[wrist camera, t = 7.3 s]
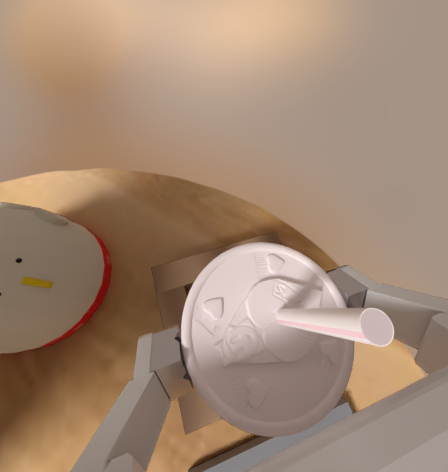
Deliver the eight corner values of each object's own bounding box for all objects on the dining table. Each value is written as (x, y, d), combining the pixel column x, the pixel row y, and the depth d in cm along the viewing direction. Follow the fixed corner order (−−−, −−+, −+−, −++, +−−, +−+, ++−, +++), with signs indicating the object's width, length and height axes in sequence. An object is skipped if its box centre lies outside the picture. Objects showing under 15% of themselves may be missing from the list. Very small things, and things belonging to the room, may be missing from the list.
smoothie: (289, 332, 16) (666, 444, 3) (220, 380, 14) (317, 1066, 1) (249, 263, 18) (359, 132, 5) (183, 299, 16) (71, 260, 3)
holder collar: (191, 404, 19) (185, 434, 14) (163, 276, 23) (151, 267, 19) (308, 354, 21) (336, 367, 17) (263, 245, 25) (275, 230, 21)
